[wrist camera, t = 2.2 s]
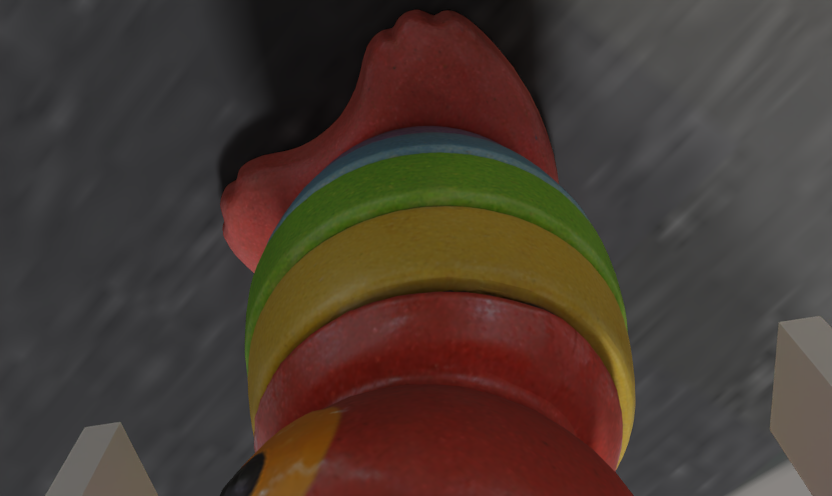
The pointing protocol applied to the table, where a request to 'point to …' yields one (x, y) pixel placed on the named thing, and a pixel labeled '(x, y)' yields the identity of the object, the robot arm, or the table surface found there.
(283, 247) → the stacking bear
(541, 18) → the table surface
